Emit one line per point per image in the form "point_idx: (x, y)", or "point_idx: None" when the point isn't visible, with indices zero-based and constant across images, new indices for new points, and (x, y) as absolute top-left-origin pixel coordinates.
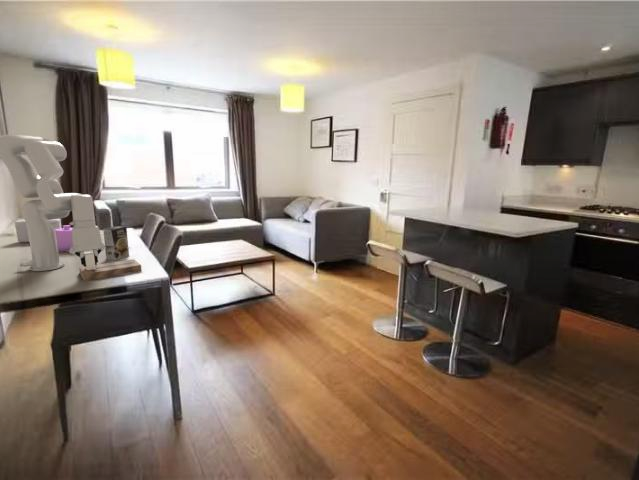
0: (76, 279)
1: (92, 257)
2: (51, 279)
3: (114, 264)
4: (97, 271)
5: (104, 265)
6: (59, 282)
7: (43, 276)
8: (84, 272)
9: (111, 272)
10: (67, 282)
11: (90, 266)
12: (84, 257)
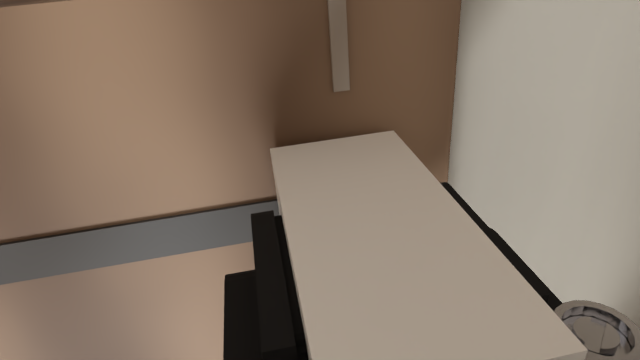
0: (473, 89)
1: (346, 296)
2: (631, 203)
3: (4, 316)
4: (245, 14)
5: (153, 312)
6: (626, 63)
7: (634, 304)
8: (432, 67)
9: (16, 3)
10: (574, 13)
11: (354, 165)
12: None
